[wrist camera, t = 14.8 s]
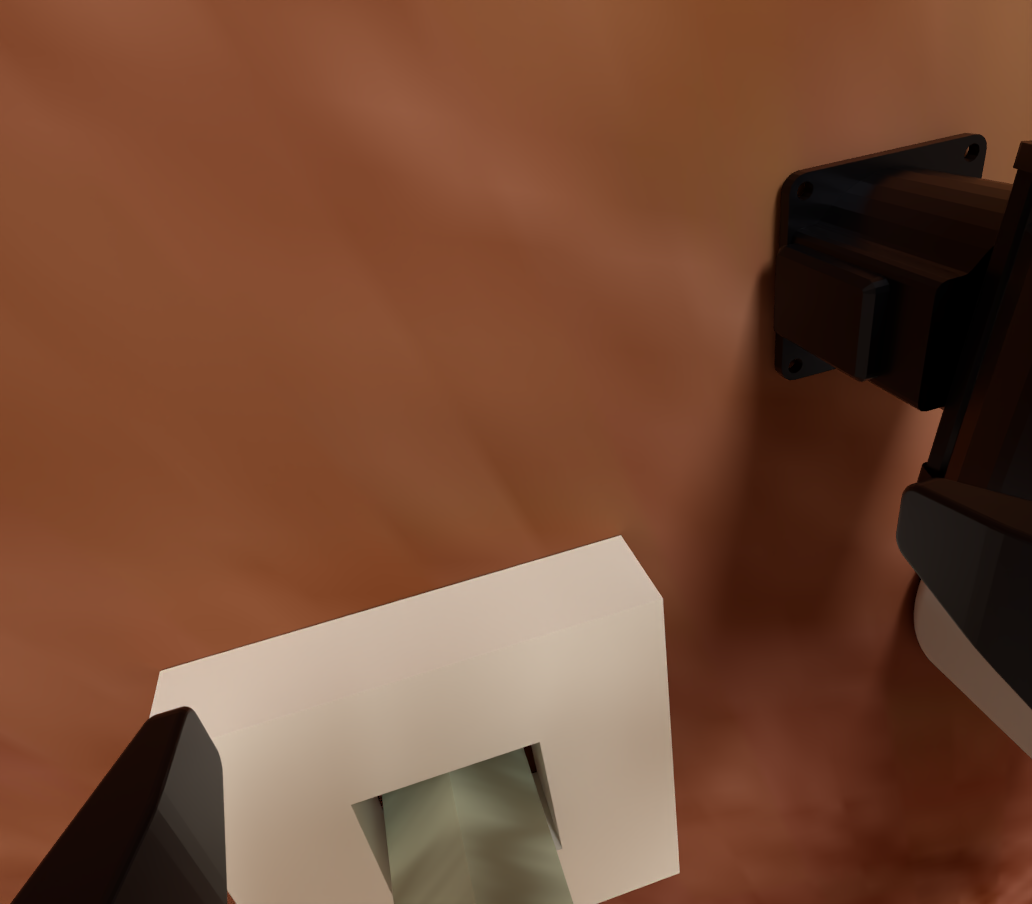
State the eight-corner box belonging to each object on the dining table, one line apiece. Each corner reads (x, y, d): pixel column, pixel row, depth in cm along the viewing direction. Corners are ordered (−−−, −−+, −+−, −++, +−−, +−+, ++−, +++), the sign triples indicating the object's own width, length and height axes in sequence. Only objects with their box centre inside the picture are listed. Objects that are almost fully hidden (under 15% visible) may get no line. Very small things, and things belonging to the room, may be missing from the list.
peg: (516, 726, 29) (599, 984, 21) (462, 791, 30) (521, 1060, 22) (434, 701, 27) (490, 974, 19) (379, 771, 28) (410, 1058, 20)
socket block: (620, 535, 25) (662, 598, 23) (646, 801, 34) (679, 872, 31) (160, 671, 23) (139, 761, 20) (308, 920, 31) (309, 1010, 28)
